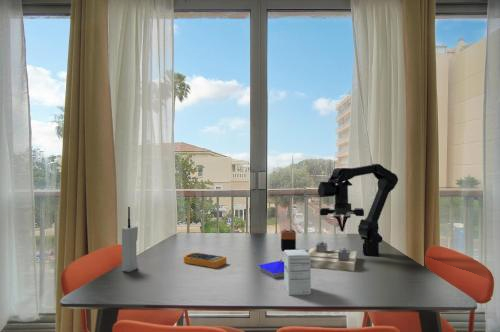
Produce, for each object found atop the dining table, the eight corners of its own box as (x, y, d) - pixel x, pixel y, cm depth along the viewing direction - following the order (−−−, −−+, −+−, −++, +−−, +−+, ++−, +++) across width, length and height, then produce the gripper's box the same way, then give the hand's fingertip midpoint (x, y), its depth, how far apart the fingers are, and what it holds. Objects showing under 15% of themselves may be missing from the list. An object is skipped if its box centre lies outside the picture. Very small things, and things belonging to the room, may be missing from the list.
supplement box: (283, 287, 115) (283, 249, 115) (305, 286, 116) (305, 249, 116) (288, 295, 108) (287, 255, 108) (311, 294, 109) (311, 254, 109)
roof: (273, 280, 124) (273, 265, 124) (257, 271, 134) (257, 257, 134) (300, 275, 129) (300, 261, 129) (283, 267, 140) (283, 253, 140)
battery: (295, 251, 165) (295, 230, 165) (281, 251, 165) (281, 230, 165) (294, 248, 170) (294, 228, 170) (280, 249, 169) (280, 228, 169)
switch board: (356, 258, 152) (356, 251, 152) (353, 271, 133) (353, 263, 133) (311, 254, 158) (311, 247, 158) (302, 266, 140) (302, 258, 140)
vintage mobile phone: (138, 268, 138) (137, 205, 138) (129, 272, 133) (129, 207, 133) (130, 267, 139) (130, 205, 139) (121, 271, 134) (121, 207, 134)
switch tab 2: (349, 257, 141) (349, 248, 141) (348, 260, 136) (348, 251, 136) (339, 256, 142) (339, 247, 142) (338, 259, 137) (338, 250, 137)
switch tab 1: (327, 250, 154) (327, 241, 154) (325, 252, 149) (325, 243, 149) (318, 249, 155) (318, 240, 155) (316, 251, 150) (316, 243, 150)
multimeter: (194, 258, 153) (194, 251, 153) (227, 264, 144) (227, 256, 144) (181, 263, 146) (181, 255, 146) (215, 269, 137) (215, 261, 137)
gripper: (317, 197, 149) (318, 234, 149) (363, 198, 143) (364, 235, 143) (320, 195, 159) (321, 229, 159) (363, 195, 154) (364, 230, 154)
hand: (342, 231), depth 154 cm, fingers closed
